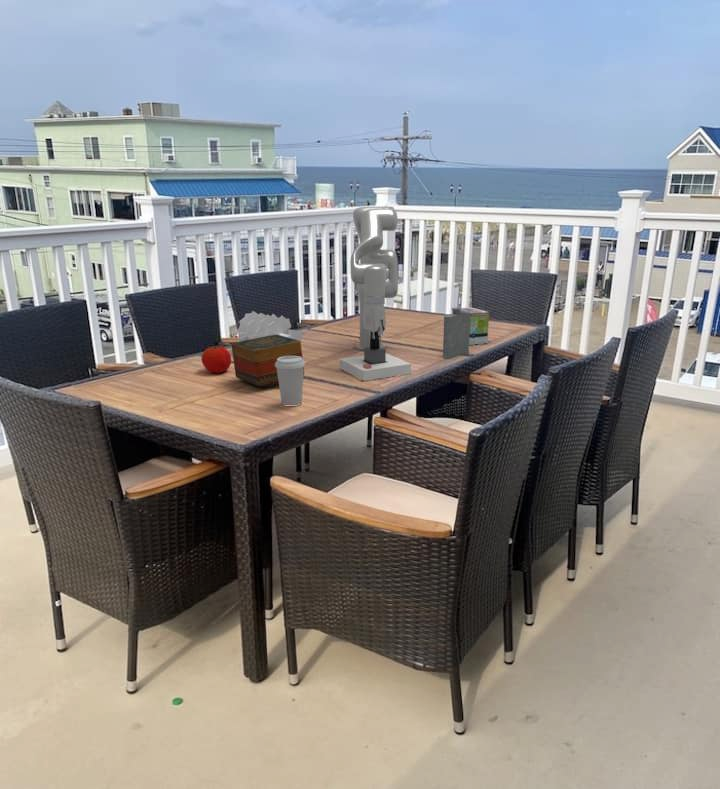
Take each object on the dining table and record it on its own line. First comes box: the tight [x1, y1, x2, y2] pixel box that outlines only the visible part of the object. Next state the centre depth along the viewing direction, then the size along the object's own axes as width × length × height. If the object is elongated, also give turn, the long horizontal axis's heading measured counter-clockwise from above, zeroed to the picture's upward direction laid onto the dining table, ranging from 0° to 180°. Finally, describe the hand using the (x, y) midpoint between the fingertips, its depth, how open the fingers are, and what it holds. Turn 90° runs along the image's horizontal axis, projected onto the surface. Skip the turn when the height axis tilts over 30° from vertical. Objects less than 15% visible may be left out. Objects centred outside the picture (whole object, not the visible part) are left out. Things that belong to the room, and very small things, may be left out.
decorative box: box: [231, 335, 305, 388], centre depth 219 cm, size 20×22×16 cm
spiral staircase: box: [236, 310, 304, 343], centre depth 258 cm, size 18×18×25 cm
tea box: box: [460, 306, 490, 346], centre depth 278 cm, size 15×10×15 cm
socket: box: [339, 353, 412, 381], centre depth 232 cm, size 20×20×5 cm
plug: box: [363, 347, 387, 365], centre depth 231 cm, size 6×6×8 cm
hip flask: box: [442, 307, 470, 360], centre depth 253 cm, size 16×4×20 cm, turn 136°
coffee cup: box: [275, 356, 306, 405], centre depth 195 cm, size 10×10×15 cm
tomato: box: [201, 345, 232, 374], centre depth 234 cm, size 11×13×10 cm
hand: (374, 348), depth 230 cm, fingers closed
